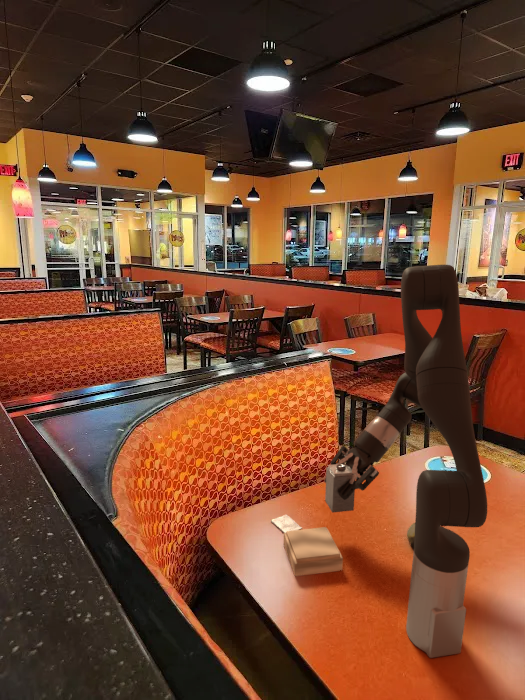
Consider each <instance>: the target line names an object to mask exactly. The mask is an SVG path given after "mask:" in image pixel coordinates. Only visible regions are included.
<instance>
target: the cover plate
mask: <svg viewBox="0 0 525 700" xmlns="http://www.w3.org/2000/svg"><path fill="white" fill-rule="evenodd" d="M270 522H271V523H272V525H274V526H275V527H276V528H277V529H278V530H280V531H281V533H283V534H284V533H286V531H293V530H301V529H303V527H302V526H300V525H299V524H298V523H297V522H296V521H295V520H294V519H293V518H292V517H290V516H289V515H288V514H284V515H281V516H278V517H276V518H273V519H270Z"/></svg>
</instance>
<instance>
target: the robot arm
mask: <svg viewBox="0 0 525 700" xmlns="http://www.w3.org/2000/svg"><path fill="white" fill-rule="evenodd" d="M459 291H460V290H459V279H458V275H457V272H456V269H455V268H454V266H453V265H451V264H434V265H431V264H430V265H429V264H428V265H415V266H409V267H407V268H405V269H404V270H403V271H402V275H401V281H400V300H401V301H400V303H401V304H400V305H401V314H402V326H403V335H404V365H403V367H404V372H403V373H402V374H400V376H399V378H398V379H397V380H396V383H395V386H394V388H393V389H392V393H391V394H390V396H389V398H388V400H387V402H386V404H385V405H384V406H383V408H381V410H380V411H379V412H378V414H377V415H376V416H375V417H374V418H373V419H372V420H371V421H370V422H369V424H367V425H366V427H365V428H364V429H363V430H362V432H361V433H360V434H359V435H358V436H357V438H355V440H354V441H353V447H352V448H350V449H348V448H347V446H346V445H342V446H340V449H339V450H338V451H337V453H336V454H335V455H334V456H333V458H332V459H331V461H330V464H329V465H334V464H347V465H348V466H349V467H350V468H351V470H352V471H351V472H352V477H351V479H350V482H349V483H350V484H349V483H347V484H346V486H345V487H344V488H343V489H342V490H341V492H340V493H339V496H340V497H341V498H343V499H344V500H346V499H347V498H349V496H350V495H351V494H352V493H353V492H354V490H355V491H356V490H361V491H365V490H366V489H367V488H368V487H369V486H370V484H371V483H372V482H373V481H374V480H375V479H376V478H377V477H378V476H379V474H380V472H379V470H377V468H376V467H375V466H374V463H378V462H380V460H381V459H382V458H383V457H384V456H385V454H386V453H387V452H388V451H389V449H391V447H392V446H393V444H394V443H395V442H396V440H397V439H398V437H399V435H400V434H401V433H402V432H403V430H404V429H405V428H406V427H407V426H408V424H409V423H410V422H411V420H412V414H411V412H410V410H409V409H408V408H407V407H405V406H404V404H403V402H404V400H405V399H406V400H408V401H409V402H411V403H412V404H414V405H416V406H417V407H419V408H421V409H422V410H423V412H424V413H425V414H426V416H427V417H428V419H429V420H430V421H431V422H432V424H433V425H434V426H435V428H436V429H437V430H438V431H439V433H440V434H441V436H442V437H443V438H444V440H445V442H446V443H447V445H448V447H449V449H450V450H449V451H450V452H451V455H452V457H453V460H454V465H455V469H456V470H444V469H443V470H442V469H441V470H440V469H425V470H423V471H421V472H420V474H419V476H418V479H417V484H416V492H415V493H416V498H415V521H414V523H415V541H414V549H413V553H412V564H411V565H412V566H411V572H410V573H411V574H410V584H409V593H408V594H409V595H408V605H407V613H406V614H407V617H406V626H405V629H406V634H407V637H408V638H409V640H410V642H412V644H413V645H414V646H415V647H417V648H418V649H419V650H422V652H424V653H425V654H426V655H427V657H429V658H430V659H432V658H433V659H435V658H440V657H445V656H452V655H456V654H461V652H462V645H463V637H464V630H465V623H466V622H465V621H466V616H467V615H466V613H467V608H466V607H465V606H464V601H465V594H466V593H465V592H466V584H467V580H468V579H467V577H468V570H469V562H470V556H471V555H470V553H471V552H470V547H469V545H468V543H467V541H466V540H465V539H464V538H463V537H462V536H461V535H459V534H458V533H456V532H455V531H453V530H451V529H448V528H446V527H454V528H456V527H458V528H459V527H460V528H480V527H482V526H483V525H484V524H485V522H486V520H487V516H488V497H487V491H486V485H485V480H484V475H483V470H482V466H481V462H480V460H481V459H480V456H479V451H478V446H477V441H476V436H475V429H474V424H473V421H474V420H473V414H472V413H473V412H472V403H471V402H472V401H471V394H470V390H471V389H470V382H469V375H468V368H467V361H466V357H465V351H464V344H463V336H462V328H461V327H462V325H461V310H460V309H461V308H460V292H459ZM432 310H434V311H435V310H440V311H441V314H442V315H441V319H440V322H439V324H438V326H437V329H436V331H435V333H434V335H433V337H432V336H431V334H430V332H429V331H428V330H427V329H426V328H425V326H424V325H423V324H422V322H421V320H420V319H419V317H418V313H417V311H432ZM323 481H324V483H325V484H326V477H325V478H324V480H323Z"/></svg>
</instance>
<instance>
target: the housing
mask: <svg viewBox="0 0 525 700" xmlns="http://www.w3.org/2000/svg"><path fill="white" fill-rule="evenodd" d="M325 468H326V472H325V474H326V475H325V478H326V483H325V496H324V497H325V498H324V499H325V500H324V501H325V503H326V504H327V506H328V508H329V510H330V511H331V513H341V512H343V513H344V512H351V511H354V510H355V496H356V495H355V491H356V489H355V490H354V492H353V493H352V494H351V495H350V496H349V498H347V499H346V500H344V499H343V498H341V497H340V496H339V493H340V492H341V490H342V489H343V488H344V487H345V486H346V484H347V483H349V482H350V479H351V477H352V472H351V471H352V470H351V468H350V467H349V466H348V465H347V464H346V463H345V464H334V465H331V464H328V466H326V467H325ZM349 484H350V483H349Z"/></svg>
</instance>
